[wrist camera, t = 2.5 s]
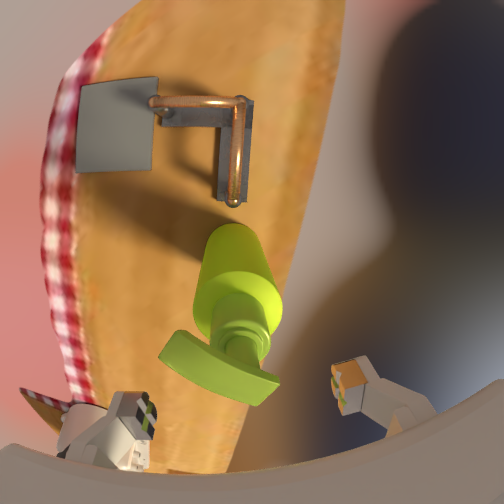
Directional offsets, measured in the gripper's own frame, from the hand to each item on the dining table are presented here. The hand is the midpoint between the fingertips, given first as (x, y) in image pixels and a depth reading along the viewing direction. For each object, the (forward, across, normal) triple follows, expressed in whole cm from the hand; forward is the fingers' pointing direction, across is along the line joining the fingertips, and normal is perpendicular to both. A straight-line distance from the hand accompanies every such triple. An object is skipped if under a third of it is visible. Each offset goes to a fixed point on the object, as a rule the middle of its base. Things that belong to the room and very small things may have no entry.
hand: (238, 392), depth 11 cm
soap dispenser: (+21, 0, 0) cm, 21 cm away
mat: (+20, +10, -15) cm, 28 cm away
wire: (+21, +2, -10) cm, 23 cm away
